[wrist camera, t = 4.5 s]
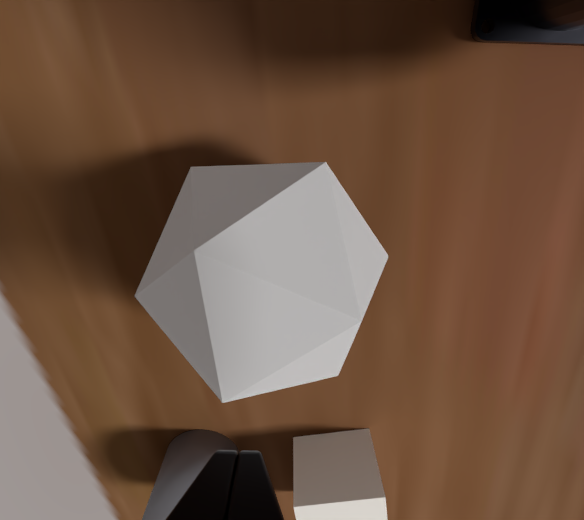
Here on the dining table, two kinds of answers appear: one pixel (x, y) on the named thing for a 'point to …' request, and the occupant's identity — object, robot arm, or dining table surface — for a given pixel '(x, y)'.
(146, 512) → the grey rounded piece
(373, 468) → the cream block
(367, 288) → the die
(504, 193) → the dining table surface
